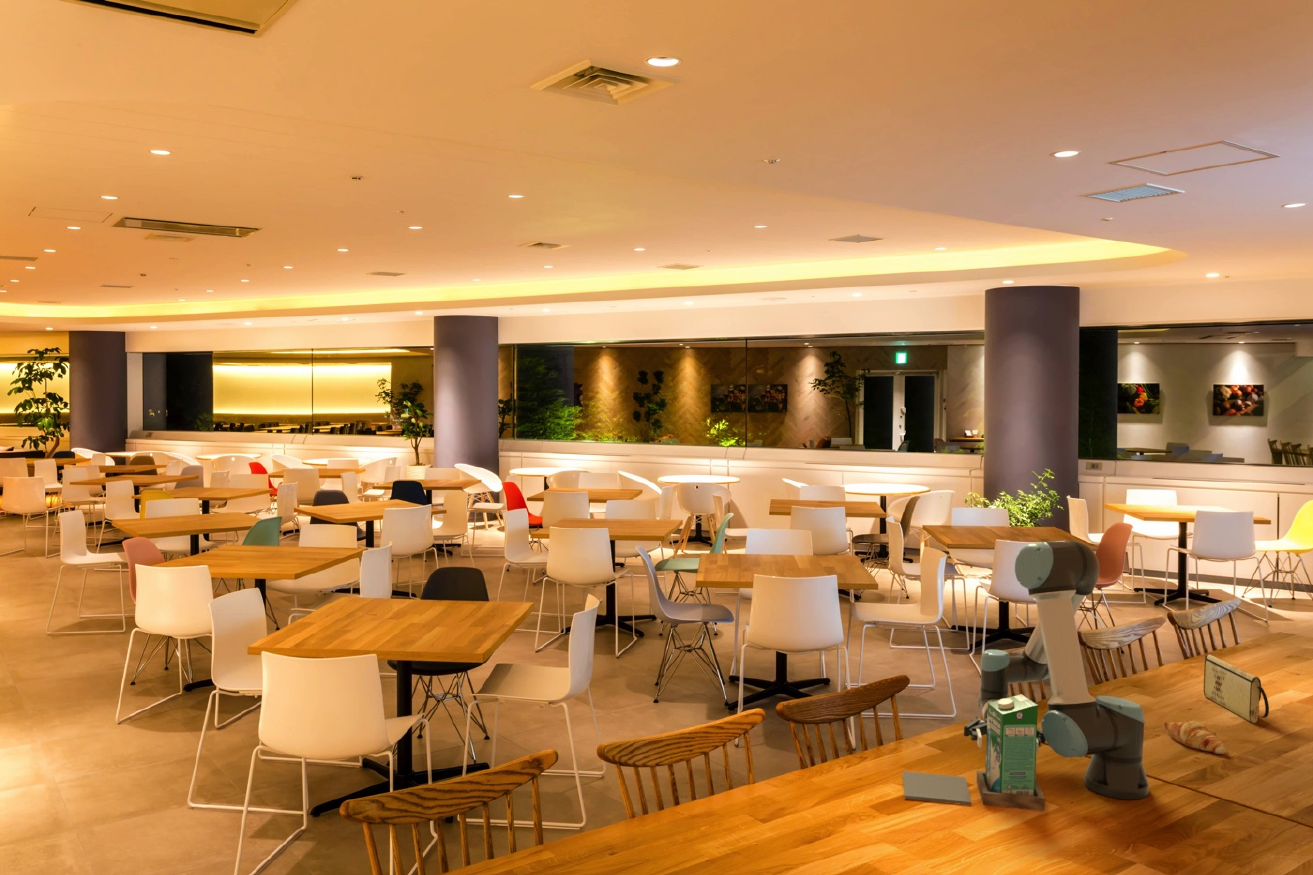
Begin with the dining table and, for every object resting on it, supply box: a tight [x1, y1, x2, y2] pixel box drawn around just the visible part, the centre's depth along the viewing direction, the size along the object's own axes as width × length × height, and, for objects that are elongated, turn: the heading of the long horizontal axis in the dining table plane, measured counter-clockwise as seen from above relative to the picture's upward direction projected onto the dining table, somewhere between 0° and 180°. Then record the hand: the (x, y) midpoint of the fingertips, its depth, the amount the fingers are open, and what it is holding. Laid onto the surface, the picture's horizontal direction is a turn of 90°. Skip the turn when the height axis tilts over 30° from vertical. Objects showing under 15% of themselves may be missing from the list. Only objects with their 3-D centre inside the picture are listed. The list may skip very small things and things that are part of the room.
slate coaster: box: [902, 770, 972, 806], centre depth 254 cm, size 16×16×1 cm
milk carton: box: [985, 693, 1039, 796], centre depth 250 cm, size 9×9×25 cm
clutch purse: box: [1203, 653, 1270, 724], centre depth 320 cm, size 30×7×15 cm, turn 1°
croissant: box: [1163, 718, 1227, 755], centre depth 289 cm, size 21×10×8 cm, turn 20°
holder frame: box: [976, 770, 1046, 812], centre depth 250 cm, size 14×14×3 cm
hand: (1008, 744), depth 250 cm, fingers open, 13 cm apart
